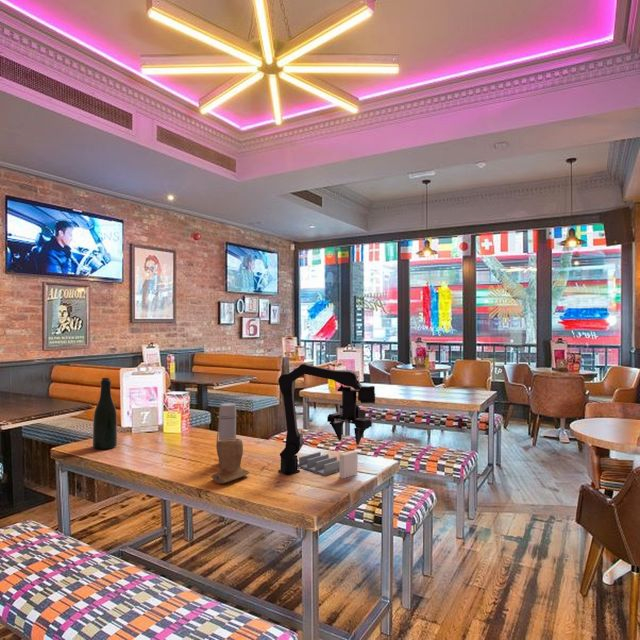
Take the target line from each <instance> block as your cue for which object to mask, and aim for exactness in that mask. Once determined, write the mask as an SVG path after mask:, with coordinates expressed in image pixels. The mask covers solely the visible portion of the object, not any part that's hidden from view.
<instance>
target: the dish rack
mask: <svg viewBox="0 0 640 640" xmlns="http://www.w3.org/2000/svg"><path fill="white" fill-rule="evenodd" d="M339 464H340V459H338V456H332V457H329V453H327V454H324V455H322V454H321V451H317V452H314V453H309V454H306V455H302V456H298V468H299V467H301V468H300V469H302V468H303V470H306V469H307V470H306V471H309V472H311V473H315V472H316V473H315V474H318V475H321V476H324V475H325V476H328V475H330V474H334V473H337V472H339Z"/></svg>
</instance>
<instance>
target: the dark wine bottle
mask: <svg viewBox="0 0 640 640" xmlns="http://www.w3.org/2000/svg"><path fill="white" fill-rule="evenodd" d="M111 384H112V380H111V378H110V377H102V378H101V380H100V393H99V394H100V395H99V399H98V400H97V401H98V402H97V405H96V407H95V409H94V413H93V423H92V448H93V449H94V450H97V451H98V450H103V451H104V450H110V449H114V448H116V447H117V444H118V416H117V409H116V406H115V403H114V400H113V397H112V391H111V386H112V385H111Z"/></svg>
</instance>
